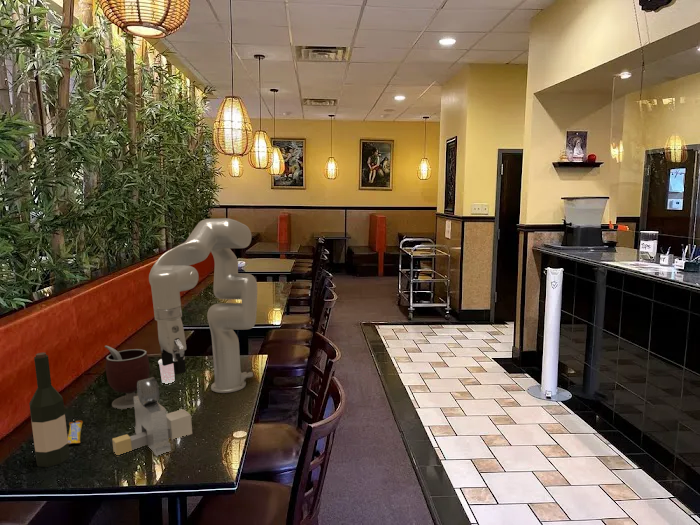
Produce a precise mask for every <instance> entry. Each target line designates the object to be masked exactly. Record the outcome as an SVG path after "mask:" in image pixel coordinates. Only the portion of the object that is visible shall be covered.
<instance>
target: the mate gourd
mask: <svg viewBox="0 0 700 525" xmlns="http://www.w3.org/2000/svg"><path fill="white" fill-rule="evenodd" d="M104 348H105V349H107V350H108V351H109V352H110V354H109V355H107V356H106V357H105V358H106V362H105V373H106V374H105V375H106V379H107V383H108V385H109V387H110V388H111V389H113V390H114V391H115V392H117V393H123V394H124V393H125V395H122V396H120V397H118V398H115V399H114V400H112V401H111V406H112V408H114V409H116V408H117V410H128V409H127V408H130V409H133V408H132V407H134V398H133V397H135V396H138V393H137V382H138V381H140V380H144V379H148V378H150V370H151V369H150V361H149V357H148V356H149V355H148V354H147V350H145V349H141V348H134V349H133V348H132V349H124V350H119V351H118V350H116V348H113V347H111V346H109V345H104Z"/></svg>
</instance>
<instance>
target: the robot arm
mask: <svg viewBox="0 0 700 525" xmlns="http://www.w3.org/2000/svg"><path fill="white" fill-rule="evenodd" d="M251 242H252V231H251V229H250V228H249V226H248V225H246V224H244V223H242V222H240V221H239V220H236V219H232V218H229V217H226V218H205V219H202V220H200V221H199V222H198V223H197V224H196V225H195V227H194V229H193V230H192V232H191V233H190V234H189V236H188V237H187V238H186V240H185V241H184V242H183V243H181V244H179V245H178V244H177V245H176V246H174V247H173V248H171V249H169V250H167V251H165V252H164V253H163V254H162V255H160V256H159V257H158V259H157V260H156V261H155V263H153V266H152V267H151V269H150V272H149V274H148V282H149V285H150V288H151V290H150V291H151V296H152V304H153V314H154V320H155V321H156V322H157V336H158V342H159V343H158V344H159V347H160V352H161V353H160V354H161V359H162V365H163V366H165V365H169V364H173V365H174V374H175V375H176V376H177V375H180V374H183V373H186V372H187V369H186V361H185V359H186V357H185V355H186V354H185V351H186V350H187V344H186V343H187V342H186V334H185V331H184V330H185V329H184V324H183V321H182V317H183V313H182V312H183V311H182V301H181V292H185V291H190V290H192V289H194V288H195V287H196V286H197V284H198V282H199V271H198V270H197V269H196V268H195V267H193V265H195V264H196V265H197V264H198V263H201V262H203V261H205V260H206V259H207V258H208V256H209V255H210V253H211V255H212V256H213V261H214V269H213V270H214V271H213V272H214V274H213V294H214V296H215V298H217V299H220V300H241V302H239V303H238V302H237V303H234V302H221V303H219V302H218V303H214V304H213V305H211V306H210V307H209V308H208V311H207V313H206V314H207V315H206V317H207V322H208V325H209V330H210V335H211V336H210V338H211V344H212V345H211V346H212V360H213V371H214V373H213V374H214V382H213V383H211V386H210V390H211V391H213V392H215V393H219V394H220V393H221V394H225V393H226V394H228V393H234V392H238V391H240V390H242V389H244V388H245V387H246V384H247V382H246V380H247V379H248V378H249V379H250V378H253V377H254V372H253V371H249V372H247V371H243V372H242V371H241V356H240V354H241V353H240V342H239V337H238V334H237V333H236V332H235V331H234V330H237V331H238V330H241V331H242V330H243V331H244V330H251V329H253V328H254V326H255V325H256V322H257V309H258V282H257V280H256V276H254V275H252V274H251V273H239V260H238V258H237V256H236V254H235V253H234V251H232V249H245V248H248V246H250V244H251ZM173 358H174V361H173Z"/></svg>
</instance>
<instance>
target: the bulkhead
mask: <svg viewBox="0 0 700 525" xmlns="http://www.w3.org/2000/svg"><path fill="white" fill-rule="evenodd" d="M136 393H138V396H135V397H133V398H134V408H133V409H134V416H135V417H134V418H135V419H134V420H135V425H134V431H135V432H134V433H135V435H136V434H139V433H142V432H146V431H147V438H148V446H147V447H149V448H150V449H151V450H152V451H153V452H154V453H153V452H152V451H151V450H150V449H149V448H148V449H149V450H150V451H151V452H152V453H153V454H154V456H156V457H159V456H158V455H160V456H162V455H161V454H163V453H166V452H169V451H171V452H172V446H171V442H170V441H169V439H168V429H167V418H166V414H167V409H166V408H165V406H163V405H161V404H160V403H159V400H160V389H159V385H158V382H157V379H156V378H155V377H154V376H151V377H149V378H148V379H144V380H140V381H138V382H137V391H136ZM169 453H170V452H169ZM166 454H167V453H166ZM163 455H164V454H163Z"/></svg>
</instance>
